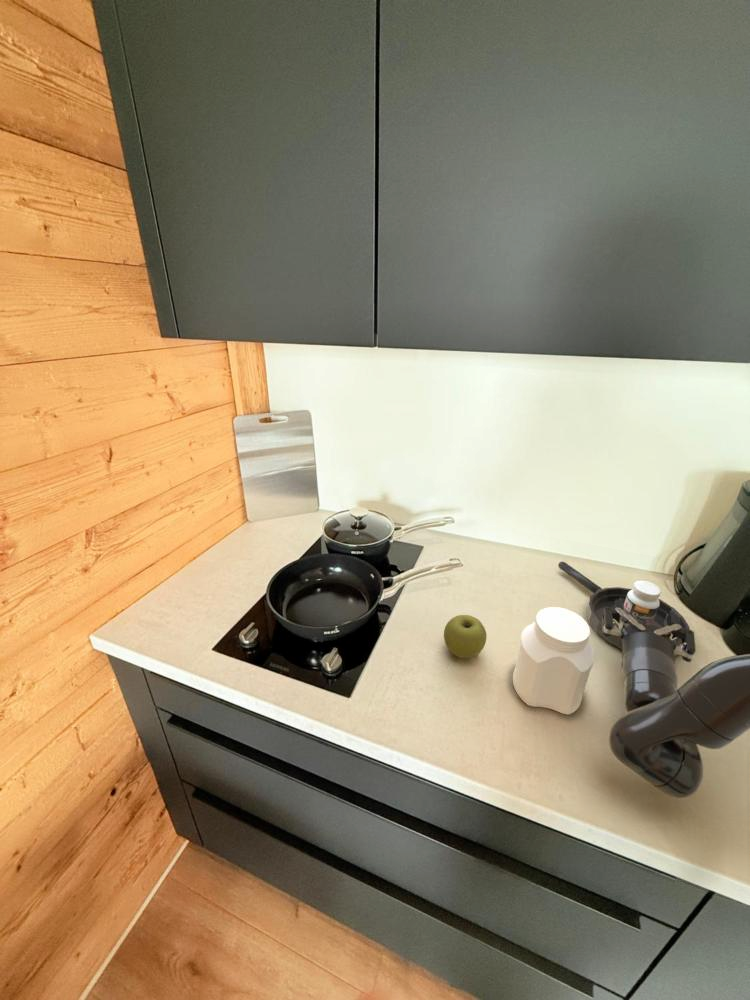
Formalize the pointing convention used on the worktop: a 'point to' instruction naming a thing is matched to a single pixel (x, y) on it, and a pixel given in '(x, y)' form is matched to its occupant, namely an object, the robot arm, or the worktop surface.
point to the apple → (465, 636)
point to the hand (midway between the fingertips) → (644, 608)
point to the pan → (611, 594)
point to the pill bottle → (642, 602)
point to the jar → (554, 661)
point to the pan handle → (579, 577)
